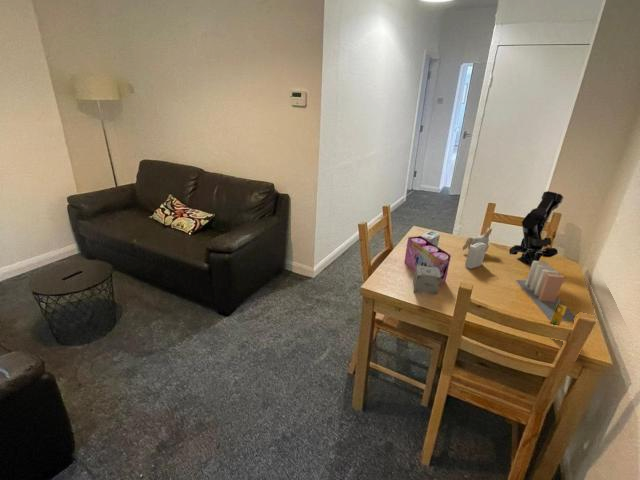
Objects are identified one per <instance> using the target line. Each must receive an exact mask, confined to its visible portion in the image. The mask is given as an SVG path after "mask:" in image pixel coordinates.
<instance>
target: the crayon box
mask: <svg viewBox="0 0 640 480" xmlns="http://www.w3.org/2000/svg"><path fill="white" fill-rule="evenodd" d="M559 301H561V299H559ZM558 303H559V302H558ZM566 308H568V307H567V306H566V305H565V306H563V305H560V304H557V307H556V309H555V311H554V314H553V316H552V318H551V320H549V323H548V325H549V324H553V325H558V326H559V327H560V325H561V322H562V321H561V320H562V318H563V316H564V313H565V311H566Z"/></svg>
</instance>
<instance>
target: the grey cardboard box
mask: <svg viewBox="0 0 640 480" xmlns="http://www.w3.org/2000/svg"><path fill="white" fill-rule="evenodd" d="M414 271H415V270H414ZM412 280H413V281H412V283H413V284H412V285H413V293H423V292H424V293H426V294H427V293H428V294H432V295H437V294H438V292H439V285H440V283H439V282H440V281H441V275H440V270H439V268H436V267H427V266H420V265H417V266H416V271H415V273H414V276H413V279H412ZM424 293H423V294H424Z"/></svg>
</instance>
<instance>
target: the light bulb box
mask: <svg viewBox="0 0 640 480" xmlns="http://www.w3.org/2000/svg"><path fill="white" fill-rule="evenodd" d="M419 236H422V237H423V238H425V239H426V240H428V241H429V242H431V243H432V244H434V245H435V246H437V247H438V246H439V241H440V237H441V234H440V233H437V232H435V231H431V230H428V231H426V232H424V233H422V234H419Z"/></svg>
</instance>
